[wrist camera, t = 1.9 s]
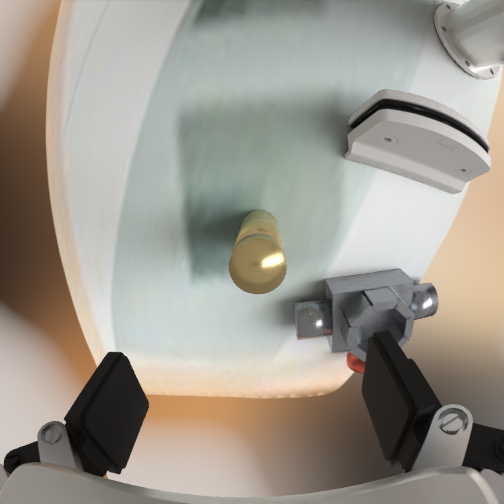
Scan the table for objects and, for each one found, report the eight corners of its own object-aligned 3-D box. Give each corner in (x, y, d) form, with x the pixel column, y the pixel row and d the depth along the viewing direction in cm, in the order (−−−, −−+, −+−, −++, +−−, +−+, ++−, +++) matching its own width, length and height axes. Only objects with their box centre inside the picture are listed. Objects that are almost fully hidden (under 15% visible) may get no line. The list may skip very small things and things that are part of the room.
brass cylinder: (275, 207, 30) (283, 237, 19) (279, 243, 32) (288, 291, 20) (238, 212, 31) (224, 244, 19) (243, 247, 32) (233, 296, 21)
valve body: (425, 264, 32) (453, 287, 25) (414, 338, 35) (434, 366, 29) (292, 282, 33) (298, 313, 26) (297, 359, 37) (302, 395, 30)
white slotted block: (341, 158, 28) (379, 118, 18) (343, 121, 28) (378, 74, 18) (455, 195, 29) (508, 179, 19) (454, 162, 29) (503, 139, 19)
